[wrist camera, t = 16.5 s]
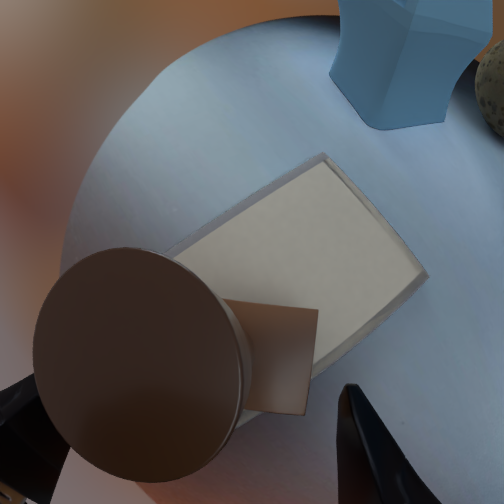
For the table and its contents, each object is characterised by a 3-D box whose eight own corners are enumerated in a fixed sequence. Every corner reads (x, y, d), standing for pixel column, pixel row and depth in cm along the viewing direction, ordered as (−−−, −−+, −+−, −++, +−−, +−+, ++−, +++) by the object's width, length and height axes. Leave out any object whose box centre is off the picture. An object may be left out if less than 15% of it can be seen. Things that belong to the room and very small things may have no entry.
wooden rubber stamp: (296, 398, 16) (365, 542, 2) (167, 377, 16) (-27, 412, 3) (307, 317, 17) (416, 230, 4) (179, 301, 18) (5, 199, 5)
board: (190, 449, 16) (185, 454, 15) (102, 304, 19) (95, 302, 18) (424, 279, 18) (430, 276, 17) (321, 158, 22) (323, 150, 21)
